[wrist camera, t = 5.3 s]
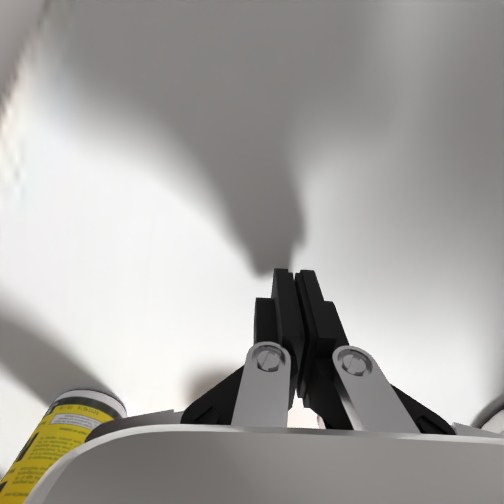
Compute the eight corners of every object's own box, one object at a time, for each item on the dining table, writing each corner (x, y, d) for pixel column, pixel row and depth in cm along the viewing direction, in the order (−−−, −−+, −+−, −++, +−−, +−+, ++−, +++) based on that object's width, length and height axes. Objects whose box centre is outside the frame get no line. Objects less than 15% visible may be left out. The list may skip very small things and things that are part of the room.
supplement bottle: (52, 380, 18) (-96, 587, 10) (131, 393, 18) (46, 600, 11) (56, 426, 20) (-62, 624, 12) (127, 437, 20) (54, 633, 13)
